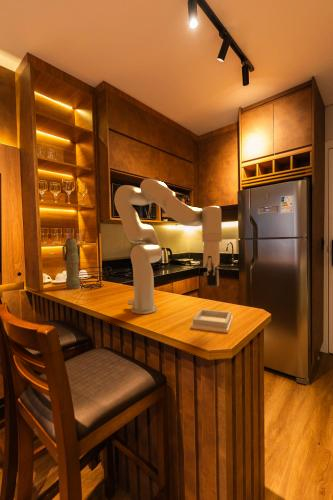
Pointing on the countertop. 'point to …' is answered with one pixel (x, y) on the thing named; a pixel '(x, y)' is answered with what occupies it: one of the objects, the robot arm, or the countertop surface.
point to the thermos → (71, 263)
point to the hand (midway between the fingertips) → (212, 283)
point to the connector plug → (216, 278)
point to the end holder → (212, 320)
